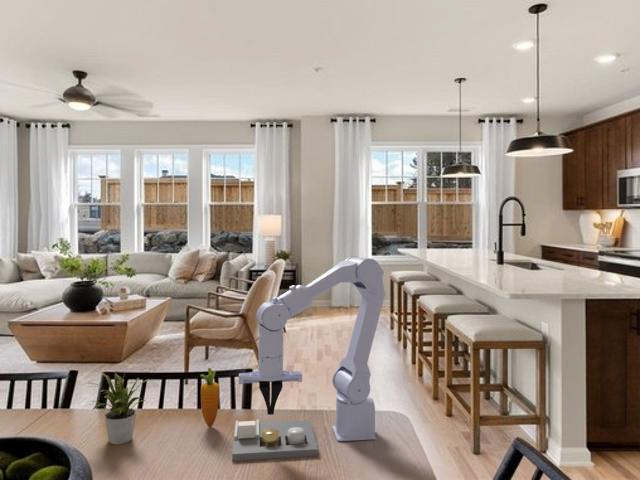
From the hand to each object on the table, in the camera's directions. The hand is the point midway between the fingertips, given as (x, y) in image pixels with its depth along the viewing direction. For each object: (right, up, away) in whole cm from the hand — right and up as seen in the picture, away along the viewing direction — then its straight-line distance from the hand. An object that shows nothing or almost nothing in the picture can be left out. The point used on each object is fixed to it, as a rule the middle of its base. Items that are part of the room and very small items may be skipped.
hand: (270, 412), depth 108 cm
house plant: (-38, -8, +4) cm, 39 cm away
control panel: (+1, -8, +3) cm, 9 cm away
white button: (+6, -7, +1) cm, 9 cm away
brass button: (0, -7, 0) cm, 7 cm away
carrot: (-17, -8, +11) cm, 22 cm away
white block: (-6, -6, +2) cm, 9 cm away
